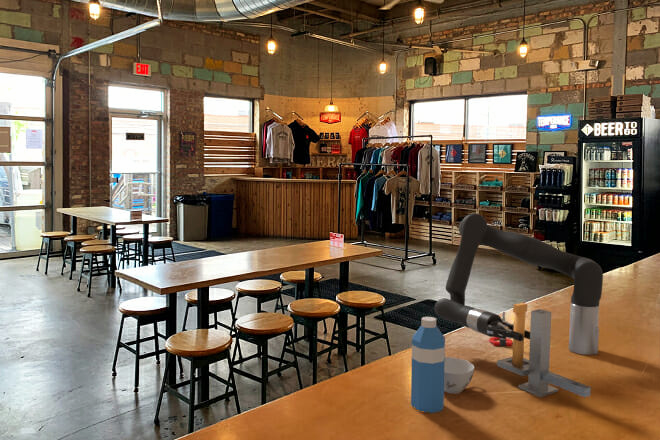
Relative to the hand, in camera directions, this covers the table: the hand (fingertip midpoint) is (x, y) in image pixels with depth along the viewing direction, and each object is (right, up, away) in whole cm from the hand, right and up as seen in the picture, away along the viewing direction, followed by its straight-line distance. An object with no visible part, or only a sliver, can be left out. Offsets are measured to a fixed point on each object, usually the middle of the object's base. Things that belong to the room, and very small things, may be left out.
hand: (526, 336), depth 168 cm
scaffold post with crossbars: (+4, -16, -4) cm, 16 cm away
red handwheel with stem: (+5, -11, +40) cm, 42 cm away
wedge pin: (-2, -10, +4) cm, 11 cm away
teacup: (-22, -16, -1) cm, 27 cm away
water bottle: (-32, -17, -13) cm, 39 cm away
